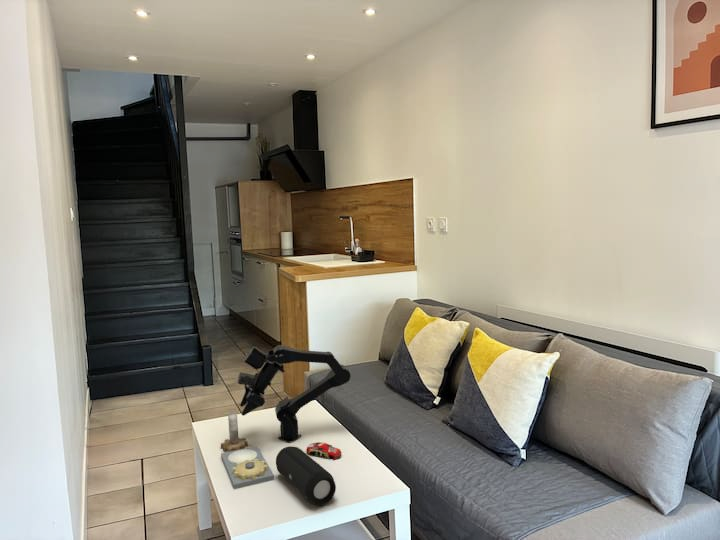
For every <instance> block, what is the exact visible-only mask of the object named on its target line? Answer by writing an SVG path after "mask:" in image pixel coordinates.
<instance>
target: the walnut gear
mask: <svg viewBox="0 0 720 540" xmlns="http://www.w3.org/2000/svg"><path fill="white" fill-rule="evenodd" d="M227 419H228V421H227V422H228V434H229V438H226V439H224V442H222V443H220V449H221V450H222V453H225V452H230V451H235V450H240V449H244V448H248V446H249V443H248V442H249V441H248V440H246V437H242V438H240V437H239V425H238V424H239V423H238V422H239V421H238V413H235V412H234V413H233V412H232V413H229V414H228V418H227Z"/></svg>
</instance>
